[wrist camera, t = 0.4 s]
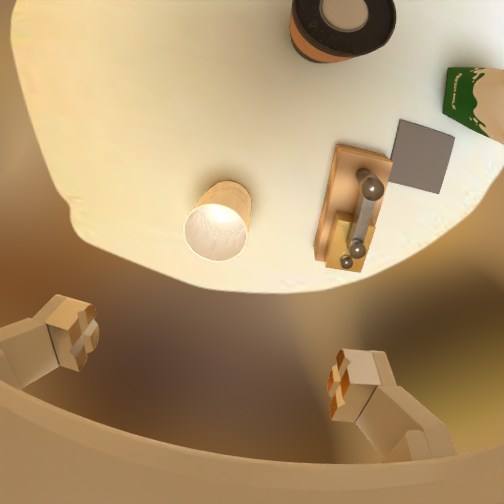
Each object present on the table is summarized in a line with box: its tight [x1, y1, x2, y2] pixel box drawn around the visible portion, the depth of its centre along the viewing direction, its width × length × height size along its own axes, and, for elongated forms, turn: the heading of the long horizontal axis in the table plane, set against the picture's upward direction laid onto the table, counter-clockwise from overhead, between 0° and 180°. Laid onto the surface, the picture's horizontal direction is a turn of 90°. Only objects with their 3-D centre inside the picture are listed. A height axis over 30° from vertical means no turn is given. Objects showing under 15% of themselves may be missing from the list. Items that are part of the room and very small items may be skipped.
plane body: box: [314, 144, 393, 262], centre depth 42 cm, size 16×7×7 cm, turn 173°
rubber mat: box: [388, 120, 455, 194], centre depth 40 cm, size 9×9×1 cm
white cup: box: [183, 181, 251, 262], centre depth 43 cm, size 8×8×10 cm
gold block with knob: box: [324, 211, 376, 273], centre depth 42 cm, size 7×5×4 cm
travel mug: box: [290, 0, 396, 63], centre depth 25 cm, size 8×8×20 cm
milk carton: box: [443, 68, 504, 144], centre depth 26 cm, size 9×9×20 cm
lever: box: [346, 172, 385, 259], centre depth 37 cm, size 10×3×4 cm, turn 173°
